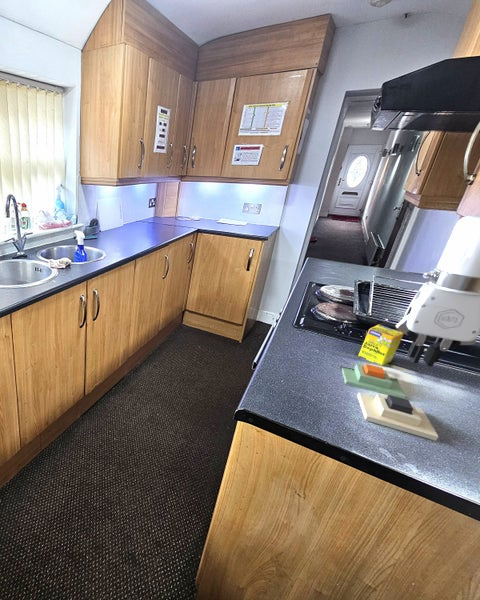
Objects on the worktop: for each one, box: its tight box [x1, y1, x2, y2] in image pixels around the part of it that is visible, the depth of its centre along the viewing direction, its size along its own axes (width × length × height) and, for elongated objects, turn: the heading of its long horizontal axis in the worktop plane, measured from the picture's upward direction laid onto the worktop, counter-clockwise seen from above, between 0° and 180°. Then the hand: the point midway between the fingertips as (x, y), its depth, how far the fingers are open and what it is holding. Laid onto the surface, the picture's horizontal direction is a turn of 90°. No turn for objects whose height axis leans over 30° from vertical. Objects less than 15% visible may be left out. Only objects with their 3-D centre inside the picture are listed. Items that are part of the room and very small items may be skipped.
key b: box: [363, 363, 386, 379], centre depth 87 cm, size 4×4×2 cm
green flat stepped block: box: [340, 363, 407, 399], centre depth 88 cm, size 12×10×3 cm
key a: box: [386, 395, 413, 414], centre depth 75 cm, size 4×4×2 cm
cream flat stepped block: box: [357, 391, 439, 442], centre depth 76 cm, size 12×10×3 cm
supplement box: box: [357, 323, 405, 367], centre depth 95 cm, size 6×6×11 cm
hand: (420, 361), depth 70 cm, fingers closed
